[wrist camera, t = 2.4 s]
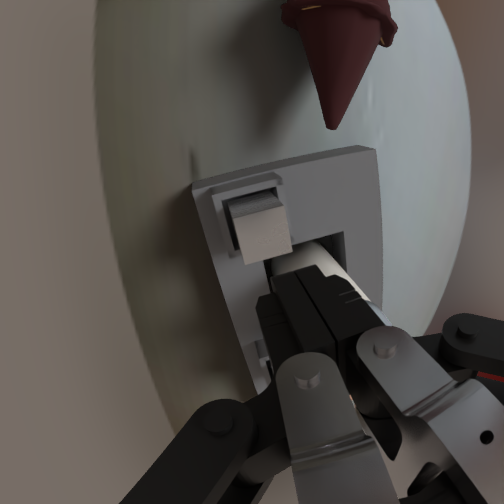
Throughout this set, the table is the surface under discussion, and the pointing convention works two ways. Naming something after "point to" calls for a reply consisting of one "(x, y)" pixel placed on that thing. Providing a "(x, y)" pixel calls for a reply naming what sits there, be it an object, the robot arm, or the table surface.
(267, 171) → the housing
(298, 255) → the cartridge
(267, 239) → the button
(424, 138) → the table surface
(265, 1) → the table surface
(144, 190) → the table surface
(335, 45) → the icecream
